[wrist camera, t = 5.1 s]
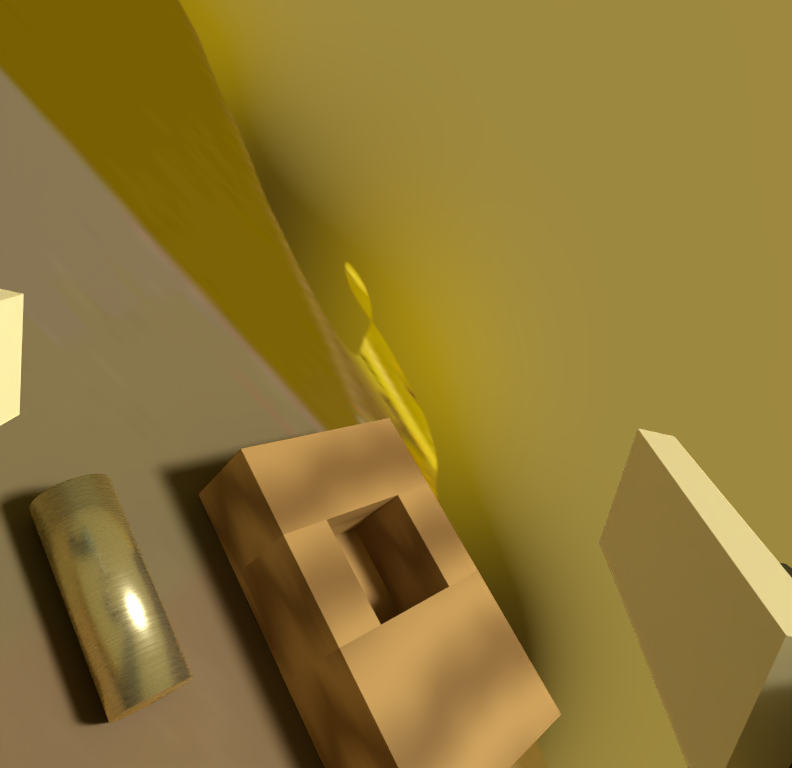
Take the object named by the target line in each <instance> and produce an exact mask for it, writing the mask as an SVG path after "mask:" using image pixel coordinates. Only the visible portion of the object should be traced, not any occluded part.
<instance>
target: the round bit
mask: <svg viewBox="0 0 792 768" xmlns="http://www.w3.org/2000/svg"><path fill="white" fill-rule="evenodd" d="M29 510H30V512H31V515H32V518H33V520H34V523H35V526H36V528H37V531H38V534H39V536H40V539H41V542H42V544H43V547H44V550H45V552H46V555H47V558H48V560H49V563H50V566H51V568H52V571H53V574H54V577H55V579H56V582H57V585H58V587H59V590H60V593H61V595H62V598H63V601H64V603H65V606H66V609H67V611H68V614H69V617H70V619H71V622H72V625H73V627H74V630H75V633H76V635H77V638H78V641H79V643H80V646H81V649H82V651H83V654H84V657H85V659H86V662H87V665H88V667H89V670H90V673H91V676H92V678H93V681H94V684H95V686H96V689H97V692H98V694H99V697H100V700H101V702H102V705H103V708H104V710H105V713H106V716H107V718H108V721H109V723H112V722H115V721H117V720H120V719H122V718H124V717H126V716H128V715H130V714H132V713H134V712H136V711H138V710H140V709H142V708H144V707H146V706H148V705H150V704H152V703H154V702H156V701H157V700H159V699H161V698H163V697H165V696H166V695H168V694H170V693H171V692H173V691H175V690H176V689H178V688H180V687H181V686H183V685H184V684H186V683H187V682H189V681H190V680H191V679H192V678H193V675H192V673H191V670H190V668H189V666H188V663H187V661H186V658H185V656H184V654H183V651H182V649H181V647H180V644H179V642H178V639H177V637H176V635H175V632H174V630H173V627H172V625H171V623H170V620H169V618H168V616H167V613H166V611H165V608H164V606H163V604H162V601H161V599H160V597H159V594H158V592H157V589H156V587H155V585H154V582H153V580H152V577H151V575H150V573H149V570H148V568H147V566H146V563H145V561H144V558H143V556H142V554H141V551H140V549H139V547H138V544H137V542H136V539H135V537H134V535H133V532H132V530H131V527H130V525H129V523H128V520H127V518H126V516H125V513H124V511H123V508H122V506H121V504H120V501H119V499H118V497H117V494H116V492H115V489H114V487H113V485H112V482H111V480H110V478H109V477H108V476H107V475H103V474H91V475H85V476H80V477H76V478H73V479H70V480H67V481H64V482H62V483H60V484H57V485H55V486H53V487H51V488H49V489H47V490H46V491H44V492H43V493H41V494H40V495H38V496H37V497H36V498H35V499H34V500H33V501H32V502H31V504H30V506H29Z"/></svg>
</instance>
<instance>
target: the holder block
mask: <svg viewBox="0 0 792 768" xmlns="http://www.w3.org/2000/svg"><path fill="white" fill-rule="evenodd" d="M198 495H199V497H200V499H201V501H202V504H203V506H204V508H205V510H206V512H207V514H208V517H209V519H210V521H211V523H212V525H213V527H214V530H215V532H216V534H217V536H218V538H219V540H220V543H221V545H222V547H223V549H224V551H225V553H226V556H227V558H228V560H229V562H230V564H231V566H232V569H233V571H234V573H235V575H236V577H237V579H238V582H239V584H240V586H241V588H242V590H243V592H244V595H245V597H246V599H247V601H248V603H249V605H250V608H251V610H252V612H253V614H254V616H255V618H256V621H257V623H258V625H259V627H260V629H261V631H262V634H263V636H264V638H265V640H266V642H267V644H268V647H269V649H270V651H271V653H272V655H273V657H274V660H275V662H276V664H277V666H278V668H279V670H280V673H281V675H282V677H283V679H284V681H285V683H286V686H287V688H288V690H289V692H290V694H291V696H292V699H293V701H294V703H295V705H296V707H297V709H298V712H299V714H300V716H301V718H302V720H303V722H304V725H305V727H306V729H307V731H308V733H309V735H310V738H311V740H312V742H313V744H314V746H315V748H316V751H317V753H318V755H319V757H320V759H321V762H322V764H323V766H324V768H510V767H511V766H512V765H513V764H514V763H515V762H516V761H517V760H518V759H519V758H520V757H521V755H522V754H523V753H524V752H525V751H526V750H527V749H528V748H529V747H530V746H531V745H532V744H533V743H534V742H535V741H536V740H537V739H538V738H539V737H540V736H541V735H542V734H543V733H544V731H546V730H547V728H548V727H549V726H550V725H551V724H552V723H553V722H554V721H555V720H556V719H557V718H558V717H559V716H560V715H561V714H560V712H559V710H558V708H557V707H556V705H555V703H554V701H553V700H552V698H551V696H550V694H549V693H548V691H547V689H546V688H545V686H544V684H543V682H542V681H541V679H540V677H539V676H538V674H537V672H536V670H535V668H534V667H533V665H532V663H531V662H530V660H529V658H528V657H527V655H526V653H525V651H524V650H523V648H522V646H521V644H520V643H519V641H518V639H517V637H516V636H515V634H514V632H513V630H512V629H511V627H510V625H509V624H508V622H507V620H506V618H505V617H504V615H503V613H502V611H501V610H500V608H499V606H498V605H497V603H496V601H495V600H494V598H493V596H492V594H491V592H490V591H489V589H488V587H487V586H486V584H485V582H484V580H483V579H482V577H481V575H480V574H479V572H478V570H477V568H476V567H475V565H474V563H473V562H472V560H471V558H470V557H469V554H468V553H467V551H466V549H465V548H464V546H463V544H462V543H461V541H460V539H459V537H458V536H457V534H456V532H455V531H454V529H453V527H452V525H451V523H450V522H449V520H448V518H447V516H446V515H445V513H444V511H443V510H442V508H441V506H440V504H439V503H438V501H437V499H436V497H435V496H434V494H433V492H432V491H431V489H430V487H429V485H428V484H427V482H426V480H425V478H424V477H423V475H422V473H421V472H420V470H419V468H418V466H417V465H416V463H415V461H414V459H413V458H412V456H411V454H410V453H409V451H408V449H407V447H406V446H405V444H404V442H403V440H402V439H401V437H400V435H399V434H398V432H397V430H396V428H395V427H394V425H393V423H392V421H391V420H390V418H387V419H382V420H378V421H373V422H368V423H363V424H358V425H354V426H349V427H344V428H339V429H334V430H330V431H325V432H320V433H315V434H310V435H306V436H301V437H296V438H291V439H286V440H281V441H277V442H272V443H267V444H262V445H257V446H253V447H248V448H243V449H240V451H239V452H238V453H237V454H236V455H235V456H234V457H233V458H232V459H231V460H230V461H229V462H228V463H227V464H226V466H225V467H224V468H223V469H222V470H221V471H220V472H219V473H218V474H217V475H216V476H215V477H214V478H213V479H212V481H211V482H210V483H209V484H208V485H207V486H206V487H205V488H204V489H203V490H202V491H201V492H200V493H199V494H198Z"/></svg>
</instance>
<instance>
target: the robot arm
mask: <svg viewBox="0 0 792 768" xmlns="http://www.w3.org/2000/svg"><path fill="white" fill-rule="evenodd" d="M22 322H23V294H21V293H17V292H12V291H8V290H3V289H0V425H2V424H4V423H5V422H7V421H9V420H11V419H13V418H14V417H16V416H18V415H19V409H20V380H21V351H22ZM599 543H600V546H601V548H602V551H603V553H604V556H605V558H606V561H607V563H608V566H609V569H610V571H611V574H612V576H613V579H614V581H615V584H616V586H617V589H618V591H619V594H620V596H621V599H622V602H623V604H624V607H625V609H626V612H627V614H628V617H629V619H630V622H631V624H632V627H633V629H634V632H635V634H636V637H637V639H638V642H639V644H640V647H641V650H642V652H643V654H644V657H645V660H646V662H647V665H648V667H649V670H650V672H651V675H652V677H653V680H654V682H655V685H656V688H657V690H658V693H659V695H660V698H661V700H662V703H663V705H664V708H665V710H666V713H667V715H668V718H669V720H670V723H671V726H672V728H673V731H674V733H675V736H676V738H677V741H678V743H679V746H680V748H681V751H682V753H683V756H684V758H685V761H686V763H687V766H688V768H792V568H790V567H789V566H787V565H786V564H782V563H779V562H778V561H777V560H776V558H775V557H774V556H773V555H772V554H771V553H770V551H769V550H768V549H767V547H766V546H765V545H764V544H763V543H762V542H761V540H760V539H759V538H758V537H757V536H756V534H755V533H754V532H753V531H752V529H751V528H750V527H749V526H748V525H747V524H746V522H745V521H744V520H743V519H742V518H741V516H740V515H739V514H738V513H737V511H736V510H735V509H734V508H733V507H732V505H731V504H730V503H729V502H728V501H727V499H726V498H725V497H724V496H723V495H722V493H721V492H720V491H719V490H718V489H717V487H715V485H714V484H713V483H712V481H711V480H710V479H709V478H708V476H707V475H706V474H705V473H704V472H703V470H702V469H701V468H700V467H699V466H698V465H697V463H696V462H695V461H694V460H693V458H692V457H691V456H690V455H689V454H688V452H687V451H686V450H685V449H684V448H683V447H682V445H681V444H680V443H679V442H678V440H677V439H676V438H675V437H674V436H670V435H665V434H660V433H656V432H652V431H646V430H642V429H638V430H637V433H636V436H635V439H634V442H633V445H632V448H631V451H630V454H629V457H628V460H627V462H626V466H625V468H624V471H623V474H622V477H621V480H620V483H619V486H618V489H617V492H616V495H615V498H614V501H613V504H612V507H611V510H610V513H609V516H608V519H607V521H606V525H605V527H604V530H603V533H602V536H601V539H600V542H599Z"/></svg>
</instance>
